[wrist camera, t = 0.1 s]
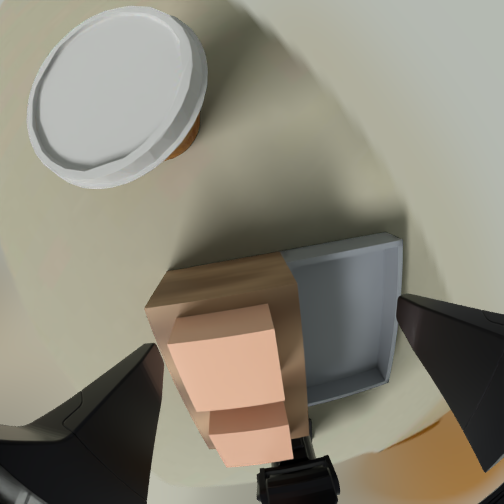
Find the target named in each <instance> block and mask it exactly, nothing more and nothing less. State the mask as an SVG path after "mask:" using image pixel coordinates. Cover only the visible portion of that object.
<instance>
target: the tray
mask: <svg viewBox="0 0 504 504" xmlns="http://www.w3.org/2000/svg"><path fill="white" fill-rule="evenodd" d="M280 253H281V255H282V257H283V259H284V260H285V262H286V264H287V266H288V267H289V269H290V271H291V273H292V275H293V276H294V278H295V280H296V282H297V286H298V295H299V304H300V314H301V324H302V335H303V347H304V359H305V372H306V386H307V402H308V406H313V405H317V404H321V403H325V402H329V401H332V400H336V399H339V398H343V397H346V396H350V395H353V394H356V393H359V392H362V391H366V390H369V389H371V388H374V387H377V386H380V385H383V384H386V383H388V382H389V378H390V373H391V367H392V362H393V356H394V350H395V343H396V336H397V328H398V321H397V319H396V310H397V299H398V297H399V296H401V285H402V263H403V240H402V239H400V238H398V237H396V236H394V235H392V234H390V233H387V232H383V233H377V234H372V235H366V236H361V237H356V238H350V239H345V240H339V241H334V242H328V243H323V244H317V245H312V246H306V247H301V248H295V249H290V250H284V251H280Z"/></svg>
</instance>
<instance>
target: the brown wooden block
mask: <svg viewBox="0 0 504 504" xmlns="http://www.w3.org/2000/svg"><path fill="white" fill-rule="evenodd" d="M267 303H268V306H269V310H270V314H271V318H272V322H273V326H274V330H275V336H276V343H277V350H278V356H279V363H280V369H281V376H282V383H283V389H284V396H285V401H284V406H285V410H286V415H287V419H288V424H289V431H290V438H291V439H295V438H300V437H304V436H309V421H308V402H307V386H306V372H305V359H304V347H303V335H302V324H301V314H300V304H299V295H298V286H297V282H296V280H295V278H294V276H293V275H292V273H291V271H290V269H289V267H288V266H287V264H286V262H285V260H284V259H283V257H282V255H281V253H280V251H279V252H273V253H267V254H262V255H256V256H251V257H245V258H239V259H234V260H228V261H223V262H217V263H211V264H206V265H200V266H194V267H189V268H183V269H177V270H172V271H167V272H166V274H165V275H164V277H163V278H162V280H161V282H160V283H159V285H158V286H157V288H156V290H155V291H154V293H153V295H152V296H151V298H150V300H149V301H148V303H147V305H146V306H145V308H144V310H145V312H146V315H147V318H148V321H149V323H150V326H151V329H152V331H153V334H154V336H155V339H156V341H157V344H158V346H159V349H160V351H161V353H162V356H163V358H164V361H165V363H166V365H167V367H168V370H169V372H170V374H171V376H172V379H173V381H174V383H175V385H176V387H177V389H178V391H179V393H180V395H181V397H182V400H183V402H184V404H185V406H186V407H187V409H188V411H189V413H190V415H191V417H192V419H193V421H194V423H195V425H196V426H197V428H198V430H199V432H200V434H201V436H202V437H203V439H204V441H205V443H206V444H207V446H208V448H209V449H216V448H215V446H214V444H213V442H212V441H211V439H210V437H209V435H208V434H209V418H210V411H203V412H196V410H195V407H194V405H193V403H192V401H191V399H190V397H189V395H188V393H187V390H186V388H185V386H184V384H183V382H182V379H181V377H180V375H179V372H178V370H177V368H176V365H175V363H174V361H173V358H172V356H171V353H170V351H169V348H168V346H167V343H168V340H169V337H170V334H171V332H172V329H173V326H174V323H175V320H176V318H180V317H187V316H194V315H201V314H208V313H214V312H221V311H227V310H233V309H239V308H245V307H251V306H256V305H262V304H267Z"/></svg>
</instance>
